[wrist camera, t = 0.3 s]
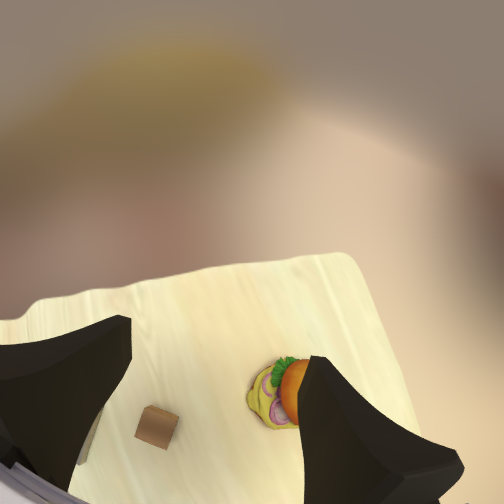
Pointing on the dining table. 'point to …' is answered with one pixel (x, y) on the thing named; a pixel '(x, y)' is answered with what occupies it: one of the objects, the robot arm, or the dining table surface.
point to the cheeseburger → (278, 393)
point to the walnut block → (156, 427)
